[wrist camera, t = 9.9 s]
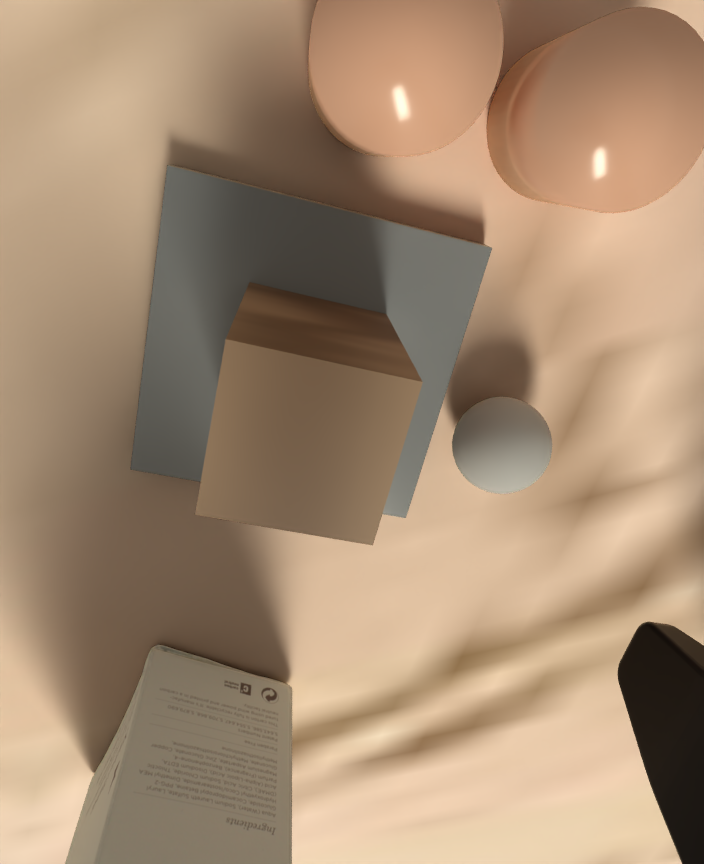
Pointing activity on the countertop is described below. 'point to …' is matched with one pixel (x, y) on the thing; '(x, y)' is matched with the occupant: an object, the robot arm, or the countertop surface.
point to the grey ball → (502, 445)
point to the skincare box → (193, 771)
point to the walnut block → (307, 417)
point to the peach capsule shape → (403, 70)
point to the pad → (296, 272)
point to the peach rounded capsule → (602, 113)
